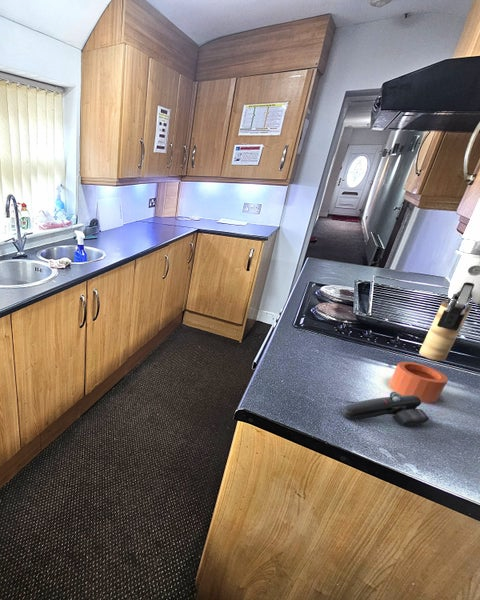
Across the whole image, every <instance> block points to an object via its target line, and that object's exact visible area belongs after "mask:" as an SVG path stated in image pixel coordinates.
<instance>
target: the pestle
mask: <svg viewBox="0 0 480 600" xmlns="http://www.w3.org/2000/svg"><path fill="white" fill-rule="evenodd" d="M449 302H450V300H448V299H443V300H442V302H441V304H440V305H439V308H438V310H437V312H436V314H435V316H434V319H433V321H432V323H431V325H430V328H429V330H428V332H427V333H426V336H425V338H424V340H423V342H422V344H421V346H420V349H419V351H418V354H419V355H420V356H421V357H424V358H425V359H428V360H432V361H437V362H445V361H446V359H447V357H448V355H449V354H450V351H451V349H452V348H453V346H454V344H455V341H456V340H457V337H458V336H459V334H460V332H461V330H462V328H463V326H464V324H465V322H466V320H467V318H468V316H469V313H470V312H471V310H472V308H473V307H472V305H471V304H469V305H468V307H467V309H466V311H465V313H464V314H465V316H464V318H463V320H462V322H461V324H460V326H459V328H458V330H456V331H454V330H450V329H446V328H442V327H438V326H437V324H438V322H439V320H440V318H441V316H442V314H443V312H444V310H446V309H447V307H448V305H449ZM454 303H456V302H454ZM454 303H453V304H454Z"/></svg>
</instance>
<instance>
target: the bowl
mask: <svg viewBox="0 0 480 600" xmlns="http://www.w3.org/2000/svg"><path fill="white" fill-rule="evenodd" d="M448 381H449V379H448V377H447V376H446V374H444V373H443V372H441V371H439V370H437V369H435V368H433V367H431V366H428V365H425V364H421V363H418V362H413V361H400V362H398V363H397V365H396V368H395V370H394V372H393V374H392V376H391V378H390V380H389V382H388V385H389V387H390V389H392V390H393V392H394V391H395V392H396V393H399V394H400V395H402V396H405V395H415V396H417V397H419V399H420V400H421V403H425V404H426V403H427V404H433V403H436V402H438V400H439V398H440V396H441V394H442V392H443V390H444V388H445V387H446V385H447V383H448Z"/></svg>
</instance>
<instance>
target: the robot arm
mask: <svg viewBox="0 0 480 600" xmlns="http://www.w3.org/2000/svg"><path fill="white" fill-rule="evenodd" d="M467 223H468V224H467V225H466V228H465V230H464V232H463V235H462V237H461V239H460V241H459V243H458V245H457V248H456V250H455V253H456V254H458V255H461V257H460V259H459V261H458V264H457V266H456V268H455V270H454V273H453V275H452V278H451V279H450V280H451V281H450V284H449V287H448V293H447V298H448V299H447V300H450V302H449V305H448V307H447V309H446V310H444V312H443V314H442V316H441V318H440V320H439V322H438V324H437V326H438V327H442V328H446V329H450V330H454V331H456V330H458V328H459V326H460V324H461V322H462V320H463V318H464V316H465V314H464V313H465V311H466V309H467V307H468V305H470V303H471V301H472V303H474V304H475V305H480V198H479V199H478V201H477V203H476V206H475V208H474V210H473V212H472V215H471V217H470V219H469V222H467ZM454 302H456V303H454ZM453 303H454V304H453Z"/></svg>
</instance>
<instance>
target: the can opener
mask: <svg viewBox="0 0 480 600" xmlns="http://www.w3.org/2000/svg"><path fill="white" fill-rule="evenodd" d="M420 405H422V402H421V400H420V399H419V397H417V396H415V395H405V396H403V395H401V394H399V393H397V392H396V391H394V390H393V391H391V392H390V394H389V396H385V397H376V398H371V399H366V400H360V401H356V402H352V403H348V404H346V405H345V410H344V411H342V416H343V418H344V419H347V420H350V421H351V420H353V421H355V420H365V419H370V418H377V417H381V416H385V415H386V416H387V415H392V419H393V420H395V421H396V422H398V423H399V424H400V425H402V426H408V427H409V426H418V425H421V424H425V423H426V422H428V421H429V420H430V417H429V416H428V415H427V414H426V413H425V411H424V410H423V409H421V408H418V407H420Z"/></svg>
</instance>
